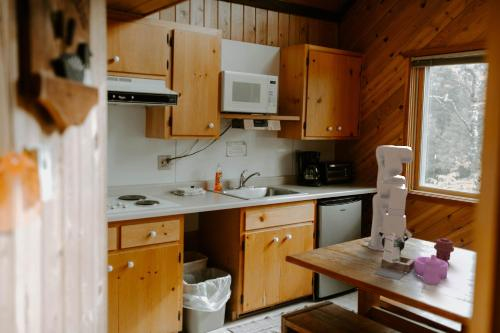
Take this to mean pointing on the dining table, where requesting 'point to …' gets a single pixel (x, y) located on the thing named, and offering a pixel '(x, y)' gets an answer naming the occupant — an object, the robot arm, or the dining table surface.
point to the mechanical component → (443, 249)
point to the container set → (431, 269)
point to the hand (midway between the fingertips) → (392, 247)
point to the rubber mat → (390, 273)
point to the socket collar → (400, 264)
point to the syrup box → (392, 248)
